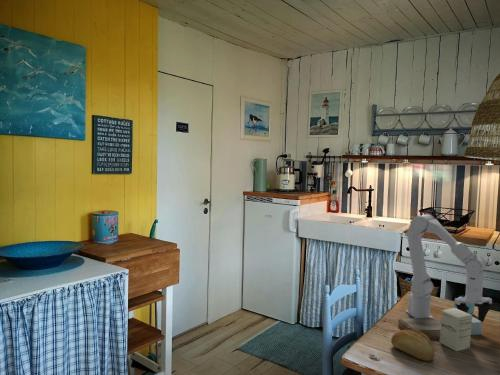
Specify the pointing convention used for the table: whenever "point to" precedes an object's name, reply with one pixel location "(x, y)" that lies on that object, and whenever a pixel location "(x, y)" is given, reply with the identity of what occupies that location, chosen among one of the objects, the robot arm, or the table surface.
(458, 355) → the table surface
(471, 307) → the light blue knobbed box
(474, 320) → the dusty blue block
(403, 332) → the bread roll
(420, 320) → the wooden tray
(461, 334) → the supplement box
